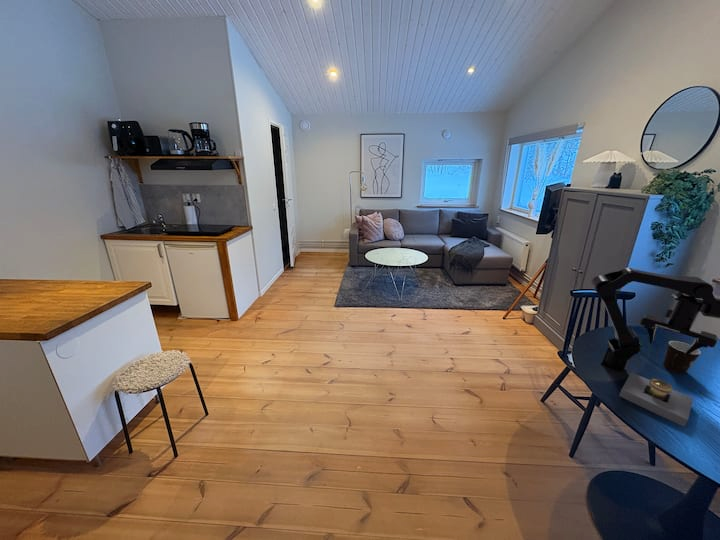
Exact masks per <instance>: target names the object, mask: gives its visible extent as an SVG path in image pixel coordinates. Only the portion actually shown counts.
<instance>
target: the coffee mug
mask: <svg viewBox="0 0 720 540" xmlns="http://www.w3.org/2000/svg"><path fill="white" fill-rule="evenodd" d="M691 345H692V344H689V343H686V342H682V341H677V340H670V341H668V344H667V348H666V351H665V355H664V359H663V363H662V366H663V367H664V368H665V369H666V370H669V372H670V371H671V372H672V373H676V374H679V375H680V374H681V375H683V374H686V373H687V371H689V369H690V367H691V366H693V364H694V362H695V361H696V360H697V358H699V356H700V355H701V354H702V353H701V350H700V349H697V350H695V351H693V352H692V353H690V354H689V355H687V356H685V353H686V351H687V350H688V349H689V347H690V346H691Z"/></svg>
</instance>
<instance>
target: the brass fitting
mask: <svg viewBox="0 0 720 540" xmlns="http://www.w3.org/2000/svg"><path fill="white" fill-rule="evenodd" d="M649 380H650V385H651V387H650V389H649V391H648V393H647V394H648V395H650V396H652V397H654V398H657V399H659V400H661V401H663V402H664V401H665V400H664V398H665V396H666V394H667V393H670V392H672V390H674V389H673V386H672V385H671V384H669V383H668V382H667V381H666V382H665V380H664V381H663V380H661V379H658V378H650V379H649Z"/></svg>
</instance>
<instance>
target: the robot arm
mask: <svg viewBox="0 0 720 540" xmlns="http://www.w3.org/2000/svg"><path fill="white" fill-rule="evenodd" d="M632 282H635V283H639V284H640V283H641V284H644V285H650V286H655V287H660V288H665V289H669V290H674V291H676V293H672V294H670V297H672V298H673V299H674V300H675V301H676V303H675V306H674V307H673V310H672V309H670V308H668V309H667V311H666V313H665V316H664V317H665V318H669V319H668V321H667V322H663V321H660V320H659V319H660V317H658V316H654V315H651V314H644V316H643V317H642V319H641V321H640V325H641V326H643V328H644V329H646V330H647V334H648V338H649V344H650V345H652V343H653V342H654V340H655V334H656V331H657V328H658V327H660V328H662V329H667V330H668V331H673V332H676V333H678V334H682V335H686V336H687V337H688V336H689V337H690V338H691V337H692V338H694V341H692V343H691V344H690V345H691V346H690V347H689V349H688V350H687V351H686V353H685V356H687V355H689V354H690V353H692V352H693V351H695V350H697V349H698V350H700V349H701V348H704V349H705V348H715V346H716V344H717V342H718V338H719V337H718V335H717V334H715V333H711V332H709V331H708V332H707V331H705V330H701V331H700V333H699V332H696V331H693V330H691V328H692V327H693V325H694V322H695V320H696V318H697V317H698V314H699V312H700V313H701V315H702V316H703V317H707V318H714V319H720V298H716V297H715V295H714V294H713V293H714V287H713V286H712V284H710V283H709V282H708V281H706V280H704V279H702V278H700V277H698V276H686V275H682V276H672V275H665V274H661V273H656V272H650V271H645V270H639V269H634V268H632V267H624V268H622V269H619V270H616V271H610V272H608V273H607V272H606V273H605V274H602V275H600V274H599V275H596V276H594V277H593V279H592V280H591V286H592V287H593V289H594V290H595V292H596V293H597V295H598V296H599V297H600V298H601V300H602V302H603V304H604V307H605V309H606V311H607V314H608V316H609V320H610V322H611V323H612V326H613V329H614V337H613V338H611V339H608V340H606V345H607V349H606V351H605V353H604V355H603V359H601V362H600V364H601V365H602V366H604V367H607V368H610V369H612V370H614V371H617V372H619V373H621V372H622V370H625V369H626V367H627V364H628V362H629V360H630V359H631V358H632V357H633V356H634V355H637V354H638V353H640V352H641V348H642V347H643V346H642V343H641V342H640V339H639V336H638V335H637V333H636V332H635V331H634V330H633V329H628V325H627V323H626V321H625V318H624V317H623V314H622V311H621V309H620V307H619V303H618V302H617V292H616V291H618V290H621V289H622V288H623V287H625V286H626V285H628V284H630V283H632Z"/></svg>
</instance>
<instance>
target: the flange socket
mask: <svg viewBox="0 0 720 540" xmlns="http://www.w3.org/2000/svg"><path fill="white" fill-rule="evenodd" d="M650 380H651V379H649V378H646V377H644V376H641V375H638V374H636V373H634V372H630V373H629V375H628V378H627V379H626V381H625V383H624V385H623V386H622V387H621V390H620V392H619V395H618V396H619V397H620V398H623V399H625V400H627V401H629V402H630V403H633V404H635V405H637V406H639V407H641V408H643V409H645V410H646V411H647V410H648V411H650V412H652V413H654V414H656V415H658V416H660V417H662V418H664V419H666V420H669V421H671V422H673V423H675V424H677V425H679V426H681V427H683V428H684V427H685V426H686V424H687V423H688V420H689V417H690V414H691V410H692V405H693V401H694V397H691V396H689V395H686V394H684V393H682V392H680V391H677V390H675V389H673V390H672V392H670V393H667V394H666V396H665V398H664V400H663V401H661V400H659V399H657V398H654V397H652V396H650V395H648V391H649V389H650V387H651V385H650Z"/></svg>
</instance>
